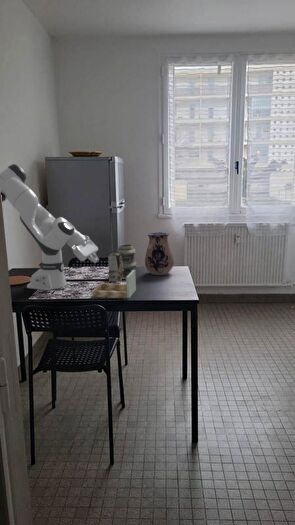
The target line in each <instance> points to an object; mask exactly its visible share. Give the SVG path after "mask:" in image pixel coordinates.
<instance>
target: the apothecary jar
mask: <svg viewBox="0 0 295 525" xmlns="http://www.w3.org/2000/svg"><path fill="white" fill-rule="evenodd" d="M116 253H122V260H123V276H128V275H129V274H130V273H131V272H132V271H133V270H134V269H135V268H136V267H137V262H136V261H135V254H136V253H137V251H136V249H135V248H134V245H133V244H130V243H125V244H120V245H119V246H118V249H117V250H116Z"/></svg>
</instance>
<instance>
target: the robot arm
mask: <svg viewBox="0 0 295 525" xmlns="http://www.w3.org/2000/svg"><path fill="white" fill-rule="evenodd" d="M26 180H27V174H26V172H25V170H24V169H23V168H22V167H21V166H19V165H17V164H14V163H13V164H10V165H9V166H7V168H6V169H4V170H3V171H1V172H0V188H1V195H2V202H1V203H3V202H5V201H6V200H8V202H9V204H11V206H13V208H15V210H16V211H17V212H18V213H19V220H20V221H21V223H22V225H23V226H24V228H25V229H26V230H27V231H28V233H29V234H30V235H31V237H32V239H34V241H35V242H36V243H37V245H38V247H39V248H40V250H41V259H42V261H41V262H40V263H39V264H38V267H39V269H38V270H37V271H35V272H34V273H33V274H32V275H31V278H30V282H29V283H28V284H27V285H26V288H27V289H32V290H33V289H34V290H41V291H51V290H56V289H61V288H64V287H66V286H67V285H68V283H67V280H66V277H65V272H64V269H65V268H64V267H65V265H64V260H63V252H62V248H63V247H64V246H65V245H66V244H67V245H68V246H69V247H70V249H71V250H72V253H73V254H74V255H75V257H76V258H77V259H78V260H79V261H81V262H84V261H85V260H87V259H88V261H91V262H92V263H94V264H96V263H97V262H99V261H100V258H99V257H98V255H97V254H96V253H97V252H98V251H99V247H98V246H97V244H96V243H94V242H93V241H92V239H90V237H89V236H88V235H84V234H82V233H81V232H80V231H78V230H77V229H76V227H75V226H74V225H73V224H72V223H71V222H69V220H67V219H66V218H64V217H62V216H59V217H58V218H56V217H54V216H53V214H51V213H50V212H49V210H47V209H46V208H45V207H44V206H43V205H41V204H40V202H39V198H38V196H37V195H36V193H35V192H34V191H33V190H32V189H31V188H30V187H29V186H28V185H27V184H26Z"/></svg>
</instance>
